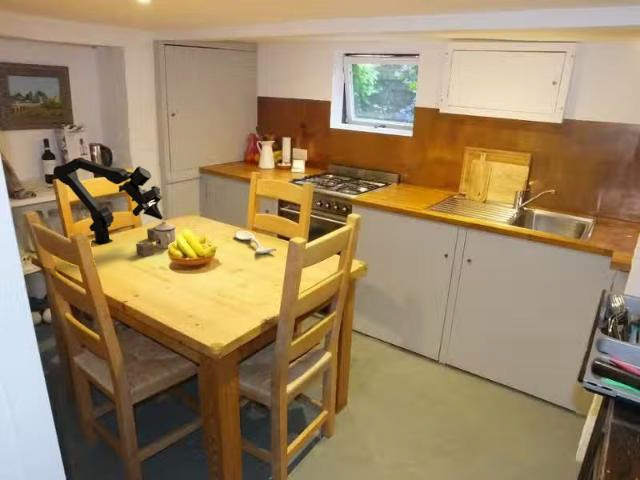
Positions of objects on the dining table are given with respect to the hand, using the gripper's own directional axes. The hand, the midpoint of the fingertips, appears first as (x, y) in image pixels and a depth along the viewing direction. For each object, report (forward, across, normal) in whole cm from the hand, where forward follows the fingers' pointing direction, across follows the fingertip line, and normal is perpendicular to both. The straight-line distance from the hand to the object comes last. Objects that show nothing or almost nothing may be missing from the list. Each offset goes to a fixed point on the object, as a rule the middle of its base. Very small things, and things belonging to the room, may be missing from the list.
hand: (161, 218), depth 205 cm
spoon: (+37, +11, -18) cm, 42 cm away
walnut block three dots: (+4, +9, +15) cm, 18 cm away
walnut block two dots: (+7, -11, +12) cm, 18 cm away
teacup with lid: (+10, 0, +8) cm, 13 cm away
